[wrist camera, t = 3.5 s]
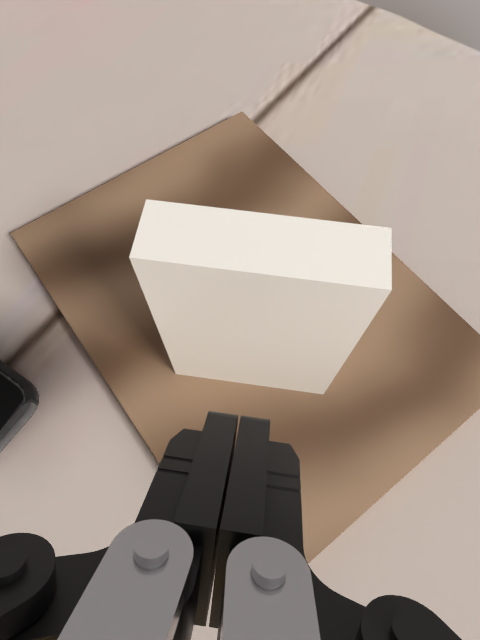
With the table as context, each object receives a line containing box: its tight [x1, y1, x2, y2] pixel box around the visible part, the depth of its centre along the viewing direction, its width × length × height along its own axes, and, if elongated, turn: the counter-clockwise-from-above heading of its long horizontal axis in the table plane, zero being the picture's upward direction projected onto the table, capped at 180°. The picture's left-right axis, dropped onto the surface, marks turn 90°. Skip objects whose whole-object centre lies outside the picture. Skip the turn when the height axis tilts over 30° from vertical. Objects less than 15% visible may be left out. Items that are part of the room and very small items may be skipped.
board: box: [10, 112, 480, 563], centre depth 23 cm, size 22×16×1 cm
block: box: [129, 199, 392, 394], centre depth 17 cm, size 2×7×10 cm, turn 82°
